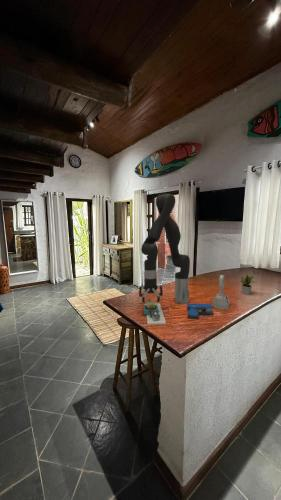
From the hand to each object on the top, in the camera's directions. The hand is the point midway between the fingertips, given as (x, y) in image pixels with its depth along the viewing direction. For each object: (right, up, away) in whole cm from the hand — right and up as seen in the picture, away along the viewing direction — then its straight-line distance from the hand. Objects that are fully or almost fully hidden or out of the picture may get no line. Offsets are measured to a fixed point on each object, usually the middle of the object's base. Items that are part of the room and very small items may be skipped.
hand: (151, 302), depth 128 cm
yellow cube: (0, -6, +1) cm, 6 cm away
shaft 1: (0, -5, +9) cm, 10 cm away
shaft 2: (+2, -7, -7) cm, 10 cm away
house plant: (+75, -2, +31) cm, 81 cm away
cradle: (0, -6, +1) cm, 6 cm away
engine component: (+47, -5, +10) cm, 48 cm away
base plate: (+2, -7, +1) cm, 7 cm away
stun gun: (+29, -7, -1) cm, 30 cm away
